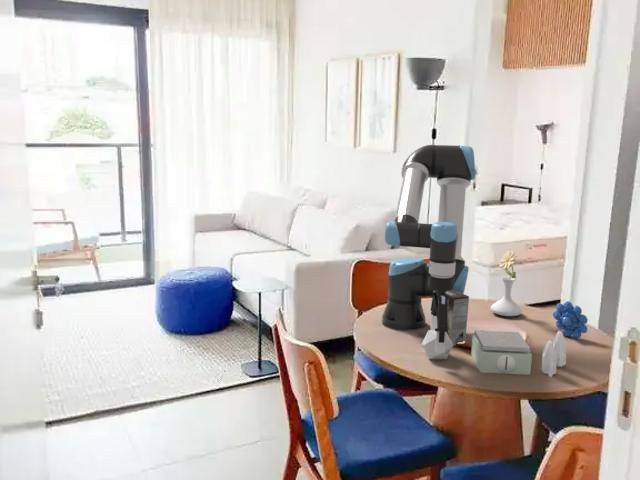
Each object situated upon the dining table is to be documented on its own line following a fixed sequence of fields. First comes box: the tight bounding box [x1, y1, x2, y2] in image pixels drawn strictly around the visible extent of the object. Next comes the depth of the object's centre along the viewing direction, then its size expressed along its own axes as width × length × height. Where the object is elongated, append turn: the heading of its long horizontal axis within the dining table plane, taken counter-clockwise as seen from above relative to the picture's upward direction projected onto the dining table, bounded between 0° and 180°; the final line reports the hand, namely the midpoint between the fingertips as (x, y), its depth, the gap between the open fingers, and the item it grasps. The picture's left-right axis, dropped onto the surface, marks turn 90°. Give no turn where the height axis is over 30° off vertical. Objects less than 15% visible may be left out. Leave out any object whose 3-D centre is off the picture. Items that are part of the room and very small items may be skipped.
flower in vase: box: [489, 250, 523, 317], centre depth 218 cm, size 13×11×25 cm
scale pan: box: [474, 329, 531, 353], centre depth 173 cm, size 13×13×1 cm
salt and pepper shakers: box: [541, 330, 567, 378], centre depth 171 cm, size 12×4×11 cm, turn 136°
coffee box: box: [441, 289, 470, 347], centre depth 192 cm, size 9×6×16 cm
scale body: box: [470, 334, 533, 376], centre depth 174 cm, size 15×14×7 cm
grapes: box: [552, 300, 588, 339], centre depth 197 cm, size 12×7×12 cm, turn 45°
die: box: [421, 329, 454, 360], centre depth 178 cm, size 8×9×10 cm
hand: (437, 344), depth 178 cm, fingers open, 13 cm apart
